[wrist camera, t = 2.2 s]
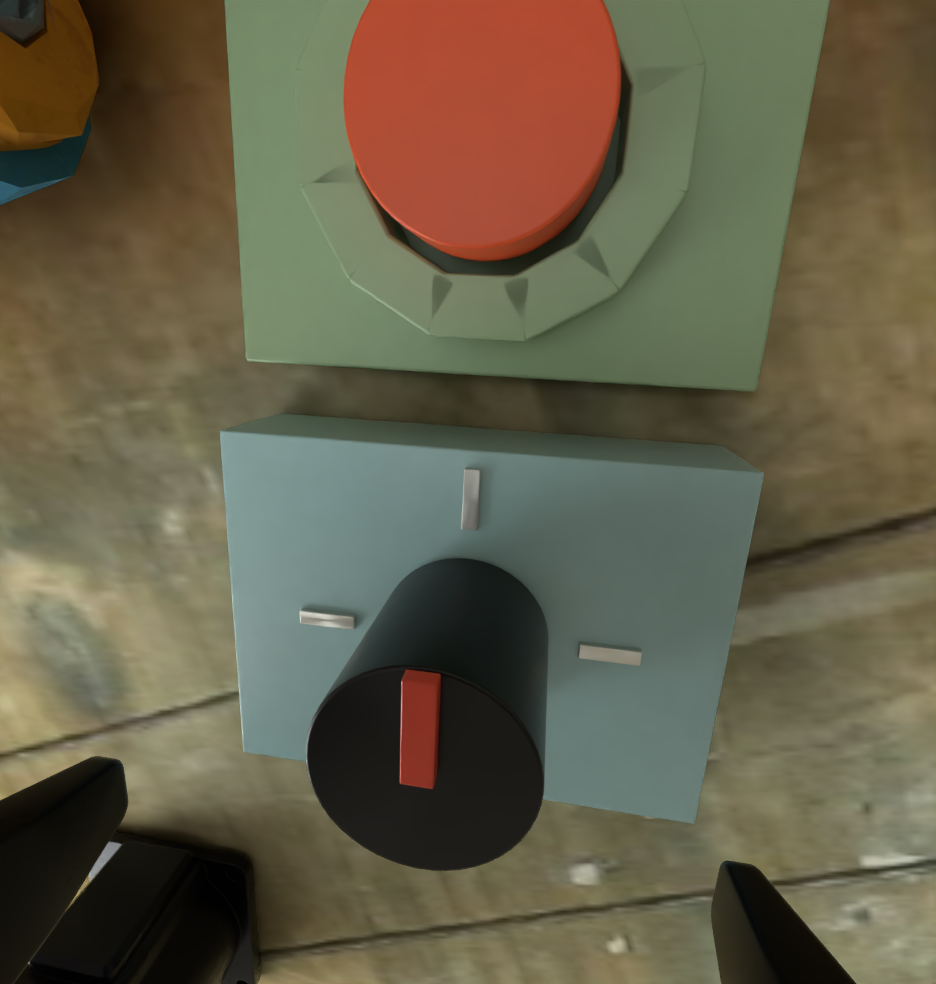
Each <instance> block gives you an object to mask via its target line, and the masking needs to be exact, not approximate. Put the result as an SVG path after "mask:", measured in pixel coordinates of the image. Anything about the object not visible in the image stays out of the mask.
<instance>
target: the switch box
mask: <svg viewBox="0 0 936 984" xmlns="http://www.w3.org/2000/svg"><path fill="white" fill-rule="evenodd" d="M224 1H225V18H226V34H227V51H228V68H229V85H230V102H231V119H232V136H233V153H234V169H235V186H236V203H237V220H238V237H239V254H240V271H241V287H242V304H243V321H244V338H245V355H246V360H248V361H253V362H269V363H285V364H302V365H318V366H335V367H351V368H368V369H384V370H401V371H417V372H434V373H450V374H467V375H483V376H500V377H516V378H533V379H549V380H566V381H582V382H599V383H615V384H631V385H648V386H664V387H681V388H697V389H714V390H730V391H747V392H753V391H756V389H757V387H758V381H759V376H760V371H761V365H762V360H763V355H764V350H765V344H766V339H767V334H768V328H769V323H770V318H771V312H772V307H773V302H774V296H775V291H776V286H777V280H778V275H779V270H780V264H781V259H782V254H783V248H784V243H785V238H786V232H787V227H788V222H789V216H790V211H791V206H792V200H793V195H794V190H795V184H796V179H797V174H798V169H799V163H800V158H801V153H802V147H803V142H804V137H805V131H806V126H807V121H808V115H809V110H810V105H811V99H812V94H813V89H814V83H815V78H816V73H817V67H818V62H819V57H820V51H821V46H822V41H823V35H824V30H825V25H826V19H827V14H828V9H829V3H830V0H603V1H604V3H605V5H606V7H607V9H608V11H609V14H610V17H611V20H612V23H613V26H614V29H615V32H616V37H617V43H618V48H619V53H620V65H621V93H620V103H619V109H618V115H617V120H616V124H615V128H614V131H613V135H612V139H611V142H610V146H609V150H608V153H607V157H606V160H605V164H604V167H603V170H602V173H601V175H600V178H599V180H598V183H597V185H596V187H595V189H594V191H593V192H592V194H591V196H590V198H589V200H588V201H587V203H586V204H585V206H584V207H583V208H582V210H581V211H580V212H579V214H578V215H577V216H576V217H575V218H574V220H573V221H572V222H571V223H570V224H569V225H568V226H567V227H566V228H565V229H564V230H563V231H562V232H560V233H559V234H558V235H557V236H556V237H554V238H553V239H552V240H550V241H549V242H547V243H546V244H544V245H542V246H541V247H539V248H537V249H535V250H533V251H531V252H529V253H527V254H524V255H521V256H518V257H514V258H511V259H505V260H500V261H484V262H482V261H472V260H466V259H462V258H458V257H454V256H451V255H449V254H447V253H444V252H442V251H440V250H438V249H436V248H434V247H433V246H431V245H429V244H428V243H426V242H425V241H423V240H422V239H421V238H419V237H418V236H416V235H415V234H413V233H412V232H411V231H409V230H408V229H406V228H405V227H404V226H403V225H401V224H400V223H399V222H397V221H396V220H395V219H394V218H393V217H392V216H391V215H390V214H389V213H388V212H387V211H386V210H385V209H384V208H383V207H382V206H381V205H380V204H379V202H378V201H377V200H376V198H375V197H374V196H373V194H372V193H371V192H370V190H369V188H368V186H367V185H366V183H365V181H364V180H363V178H362V176H361V174H360V172H359V169H358V167H357V165H356V162H355V160H354V157H353V154H352V151H351V147H350V144H349V141H348V136H347V130H346V124H345V117H344V102H343V97H344V77H345V70H346V64H347V57H348V54H349V50H350V46H351V42H352V39H353V36H354V33H355V30H356V28H357V25H358V23H359V20H360V18H361V16H362V14H363V12H364V10H365V8H366V6H367V4H368V2H369V1H370V0H224Z"/></svg>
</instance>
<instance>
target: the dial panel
mask: <svg viewBox="0 0 936 984" xmlns="http://www.w3.org/2000/svg"><path fill="white" fill-rule="evenodd" d="M220 441H221V455H222V468H223V482H224V495H225V509H226V522H227V536H228V549H229V563H230V576H231V589H232V603H233V616H234V630H235V643H236V657H237V670H238V684H239V697H240V711H241V724H242V738H243V751H244V752H247V753H254V754H260V755H266V756H272V757H279V758H285V759H291V760H297V761H304V762H306V740H307V735H308V730H309V727H310V724H311V721H312V718H313V716H314V714H315V713H316V711H317V709H318V707H319V705H320V704H321V702H322V701H323V699H324V698H325V696H326V695H327V693H328V691H329V690H330V688H331V687H332V685H333V684H334V682H335V681H336V679H337V677H338V676H339V674H340V673H341V671H342V670H343V668H344V667H345V665H346V663H347V662H348V660H349V659H350V657H351V656H352V654H353V653H354V651H355V650H356V648H357V646H358V645H359V643H360V642H361V640H362V639H363V637H364V636H365V634H366V632H367V631H368V629H369V628H370V626H371V625H372V623H373V622H374V620H375V618H376V617H377V615H378V614H379V612H380V611H381V609H382V608H383V606H384V604H385V603H386V601H387V600H388V598H389V597H390V595H391V594H392V592H393V590H394V589H395V588H396V587H397V585H398V584H399V583H400V582H401V581H402V580H403V579H404V578H405V577H406V576H407V575H409V574H410V573H411V572H413V571H414V570H416V569H418V568H420V567H421V566H423V565H426V564H428V563H431V562H434V561H438V560H443V559H452V558H466V559H474V560H479V561H483V562H486V563H490V564H492V565H494V566H497V567H499V568H501V569H503V570H505V571H506V572H508V573H510V574H511V575H513V576H514V577H515V578H517V579H518V580H519V581H520V582H521V583H522V584H523V585H524V586H526V587H527V588H528V590H529V591H530V592H531V593H532V595H533V596H534V597H535V599H536V600H537V602H538V604H539V605H540V607H541V609H542V612H543V614H544V616H545V620H546V624H547V628H548V636H549V643H548V677H547V710H546V743H545V776H544V795H543V800H548V801H554V802H560V803H566V804H573V805H579V806H585V807H591V808H598V809H604V810H610V811H616V812H623V813H629V814H635V815H641V816H648V817H654V818H660V819H666V820H673V821H679V822H685V823H691V824H693V823H695V818H696V813H697V808H698V803H699V798H700V793H701V788H702V783H703V778H704V773H705V768H706V763H707V758H708V753H709V748H710V743H711V738H712V733H713V728H714V723H715V718H716V713H717V708H718V703H719V698H720V693H721V688H722V683H723V678H724V673H725V668H726V663H727V658H728V653H729V648H730V643H731V638H732V633H733V628H734V623H735V618H736V613H737V608H738V603H739V598H740V593H741V588H742V583H743V578H744V573H745V568H746V563H747V558H748V553H749V548H750V543H751V538H752V533H753V528H754V523H755V518H756V513H757V508H758V503H759V498H760V492H761V487H762V482H763V477H764V473H763V472H761V471H760V470H758V469H757V468H755V467H754V466H752V465H751V464H749V463H748V462H746V461H745V460H743V459H742V458H740V457H739V456H737V455H736V454H734V453H733V452H731V451H730V450H728V449H727V448H725V447H724V446H719V445H705V444H692V443H678V442H665V441H651V440H637V439H624V438H610V437H596V436H583V435H569V434H555V433H542V432H528V431H514V430H501V429H487V428H474V427H460V426H446V425H433V424H419V423H405V422H392V421H378V420H364V419H351V418H337V417H323V416H310V415H296V414H283V413H280V414H276V415H273V416H269V417H266V418H262V419H259V420H255V421H252V422H248V423H244V424H241V425H237V426H234V427H230V428H227V429H223V430H221V431H220Z"/></svg>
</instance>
